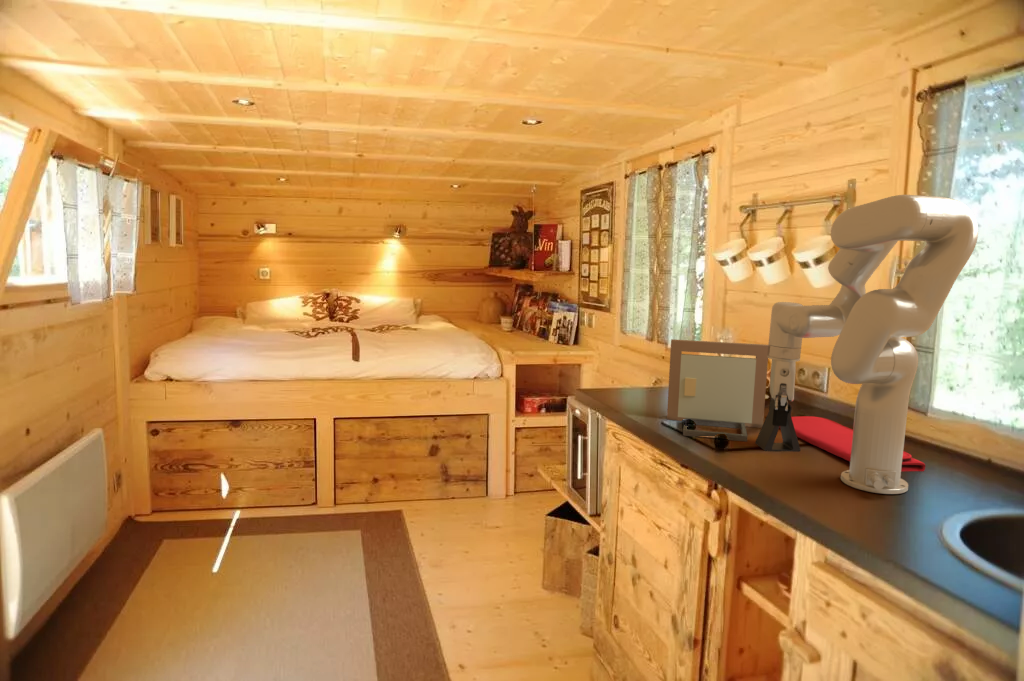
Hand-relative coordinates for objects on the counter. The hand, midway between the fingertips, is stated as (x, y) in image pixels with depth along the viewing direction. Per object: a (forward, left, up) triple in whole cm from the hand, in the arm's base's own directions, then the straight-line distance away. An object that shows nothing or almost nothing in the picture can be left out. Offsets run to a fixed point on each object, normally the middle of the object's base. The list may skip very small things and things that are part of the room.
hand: (777, 420), depth 168 cm
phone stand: (-1, 0, -7) cm, 7 cm away
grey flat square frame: (+9, +15, -7) cm, 19 cm away
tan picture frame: (+19, +15, -7) cm, 25 cm away
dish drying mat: (+7, -16, -8) cm, 19 cm away
